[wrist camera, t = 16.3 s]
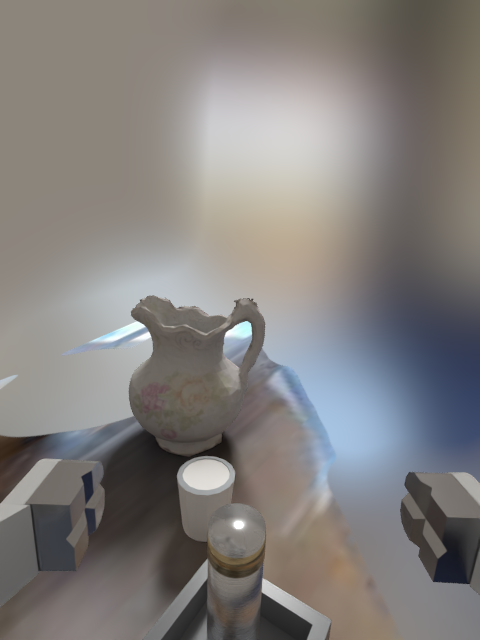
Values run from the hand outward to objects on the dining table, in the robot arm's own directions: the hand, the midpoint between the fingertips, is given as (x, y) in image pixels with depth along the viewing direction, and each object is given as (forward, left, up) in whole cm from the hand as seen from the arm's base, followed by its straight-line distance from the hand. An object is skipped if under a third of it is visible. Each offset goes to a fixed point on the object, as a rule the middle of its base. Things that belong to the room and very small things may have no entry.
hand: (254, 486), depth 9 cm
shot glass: (-17, +21, -28) cm, 39 cm away
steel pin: (-6, +10, -27) cm, 30 cm away
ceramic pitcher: (-30, +35, -28) cm, 54 cm away
